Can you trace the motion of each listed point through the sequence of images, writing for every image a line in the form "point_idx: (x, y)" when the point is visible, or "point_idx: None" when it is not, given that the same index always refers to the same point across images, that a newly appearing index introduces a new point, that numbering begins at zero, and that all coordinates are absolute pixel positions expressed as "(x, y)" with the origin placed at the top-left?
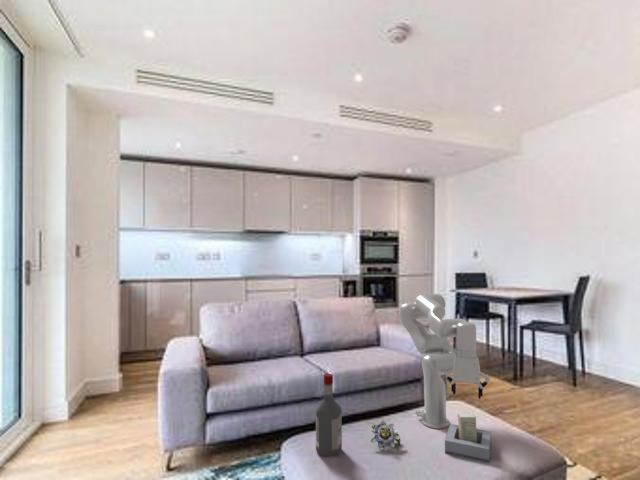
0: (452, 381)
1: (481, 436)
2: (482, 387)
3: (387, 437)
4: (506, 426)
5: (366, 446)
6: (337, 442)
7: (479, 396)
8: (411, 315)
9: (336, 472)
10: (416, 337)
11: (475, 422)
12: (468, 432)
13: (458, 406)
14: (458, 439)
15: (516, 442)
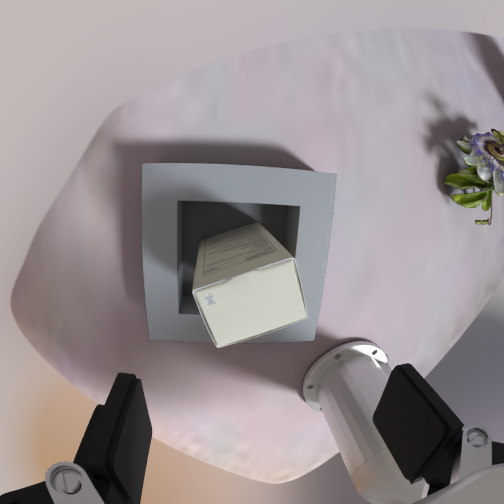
0: (484, 452)
1: (184, 306)
2: (55, 477)
3: (487, 144)
4: None
5: None
6: None
7: (121, 388)
8: None
9: (492, 41)
10: None
11: (196, 276)
12: (235, 245)
13: (274, 471)
14: (279, 204)
15: (92, 348)
